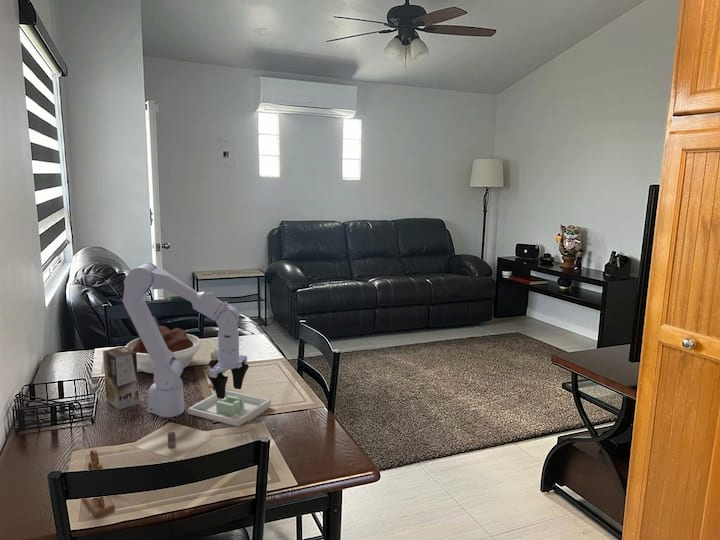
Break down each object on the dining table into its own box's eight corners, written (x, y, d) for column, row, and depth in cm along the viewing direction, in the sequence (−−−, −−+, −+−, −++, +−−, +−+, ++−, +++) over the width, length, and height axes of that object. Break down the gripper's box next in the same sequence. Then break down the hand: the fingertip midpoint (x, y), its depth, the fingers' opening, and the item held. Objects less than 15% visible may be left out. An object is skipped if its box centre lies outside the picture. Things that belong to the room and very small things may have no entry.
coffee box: (140, 403, 157) (137, 352, 154) (118, 410, 152) (115, 357, 149) (127, 395, 163) (124, 345, 160) (105, 401, 158) (102, 350, 155)
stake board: (129, 448, 131) (128, 431, 130) (171, 425, 143) (170, 409, 142) (178, 464, 124) (178, 446, 123) (217, 438, 137) (217, 421, 136)
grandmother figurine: (202, 387, 170) (201, 349, 168) (210, 383, 174) (208, 346, 171) (222, 391, 167) (221, 353, 165) (229, 386, 171) (228, 349, 169)
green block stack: (216, 412, 151) (216, 402, 150) (228, 405, 156) (228, 395, 155) (236, 417, 148) (236, 406, 147) (248, 409, 153) (248, 399, 152)
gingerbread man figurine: (81, 497, 111) (77, 445, 109) (100, 490, 113) (97, 439, 111) (94, 517, 104) (90, 462, 102) (115, 509, 107) (111, 455, 105)
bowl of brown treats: (216, 365, 190) (215, 325, 187) (157, 387, 169) (154, 343, 166) (171, 352, 203) (169, 315, 200) (111, 371, 182) (108, 330, 179)
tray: (187, 416, 149) (187, 408, 148) (223, 396, 163) (223, 389, 162) (238, 429, 142) (237, 421, 141) (270, 407, 156) (270, 399, 155)
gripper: (223, 357, 141) (224, 405, 143) (255, 343, 154) (255, 387, 156) (202, 353, 144) (203, 400, 146) (235, 339, 157) (236, 382, 159)
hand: (229, 393), depth 151 cm, fingers open, 7 cm apart
